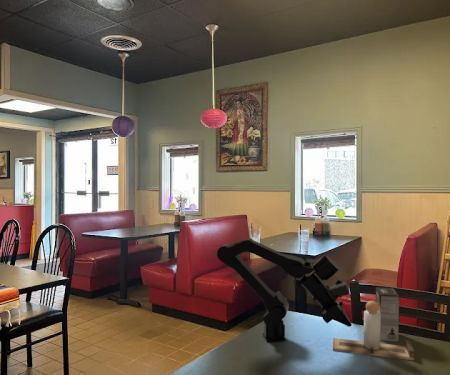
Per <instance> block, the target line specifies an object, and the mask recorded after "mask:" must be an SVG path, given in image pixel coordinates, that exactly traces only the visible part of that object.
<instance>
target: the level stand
mask: <svg viewBox="0 0 450 375" xmlns="http://www.w3.org/2000/svg"><path fill="white" fill-rule="evenodd" d="M332 351H335V352H337V351H338V352H343V353H344V352H345V353H353V354H360V355H368V356H375V357H376V356H377V357H383V358H391V359H401V360H407V361H415V350H414V348H413V346H412V342H411V341H410V340H405V345H395V344H387V343H381V342H380V349H377V350H373V347H371V349H368V348H366V347H365V346H364V340H362V341H361V340H354V339H353V340H352V339H345V338H344V339H343V338H337V337H333V338H332Z"/></svg>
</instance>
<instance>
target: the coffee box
mask: <svg viewBox="0 0 450 375" xmlns="http://www.w3.org/2000/svg"><path fill="white" fill-rule="evenodd" d="M375 302H376V303H377V304H378V305H379V310H378V312H380V313H381V318H380V341H387V342H397V341H398V342H399V320H400V319H399V315H400V313H399V312H400V307H399V306H400V295H399V294H398V292H397V291H396V289H395V288H394V287H378V286H377V287H375Z"/></svg>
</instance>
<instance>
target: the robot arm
mask: <svg viewBox="0 0 450 375" xmlns="http://www.w3.org/2000/svg"><path fill="white" fill-rule="evenodd" d="M245 252H249V253H251V254H253V255H256V256H257V257H260V258H261V259H264V260H266V261H268V262H270V263H272V264H274V265H276V266H278V267H279V268H280V269H282V271H284V272H286V273H287V274H288V275H289V276H291V277H293V278H295V282H296V283H295V288H296V289H298V288H299V287H301V286H303V288H305V290H306V292H308V293H309V294H310V295H311V297H312V300H313V301H314V302H317V303H318V304H319V306H320V307H321V310H322V311H323V312H322V320H323V321H324V322H325V323H326V324H329V323H330V322H331V321H336V322H338V323H340V324H342V325H344V326H346V327H349V328H350V327H352V322H351V320H350V319H349V316H347V313H346V312H345V309H344V306H343V305H344V301H343V300H340V302H339V301H337V300H338V298H342V297H344V296H348V295H350V293H351V291H350V289H349V286H348V284H347V282H346V281H342V279H340V278H339V279H336V280H335V284H333V285H332V286H329V285H328V284H325V283H324V282H323V281H329V280H330V279H331V278H332V277H333V276H335V275H336V274H337V273H338V272H339V271H340V270H341V269H340V267H339V265H338V264H337V263H336V262H335V261H334V260H333V259H331V258H330V257H329V256H327V255H326V254H324V255H322V256H321V258H320V259H319V260H318V261H316V263H314V262H310V261H305V259H303V258H302V257H299V256H295V255H291V254H285V253H282V252H280V251H278V250H275V249H273V248H271V247H269V246H267V245H264V244H263V243H260V242H259V241H255V239H253V238H250V237H249V238H246V239H244V240H241V241H238V242H235V243H228V242H227V243H226V244H223V245H221V246H220V247H218V249H217V252H216V257H217V259H218V260H219V261H220V262H221V263H222V264H224V265H225V266H226V267H229V268H230V269H231V270H232V269H233V270H234V271H235V273H237V275H239V277H241V279H243V281H244V282H245V283H246V284H247V285H248V286H249V287H250V288H251V290H252V291H253V292H254V293H255V294H256V295H257V296H258V297H259V298H260V300H262V302H263V305H264V306H265V309H266V312H265V314H264V315H263V317H262V319H263V332H262V337H263V338H264V340H265V342H268V343H269V342H270V343H271V342H283V341H286V339H285V336H286V325H285V324H284V320H283V319H284V318H285V317H286V316H287V312H288V310H289V309H290V306H289V302H288V301H287V299H288V298H287V297H286V296H284V295H283V294H282V293H281V291H280V290H277V291H276V292H275V291H273V290H272V289H270V288H269V286H267V284H266V283H265V282H264V281H263V280H262V279H261V278H260V277H259V276H258V275H257V273H255V272H254V270H253V269H252V268H251V267H249V265H248V264H247V263H246V262H245V261H244V259H243V257H242V255H241V254H242V253H245Z"/></svg>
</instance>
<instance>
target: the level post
mask: <svg viewBox="0 0 450 375" xmlns="http://www.w3.org/2000/svg"><path fill="white" fill-rule="evenodd" d="M378 310H379V305H378V304H377V303H376V300H369V301H367V302H366V303H365V310H364V311H363V341H364V346H365V347H366V348H368V349H371V347H373V350H377V349H380V343H381V340H380V318H381V313H380V312H378Z"/></svg>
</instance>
